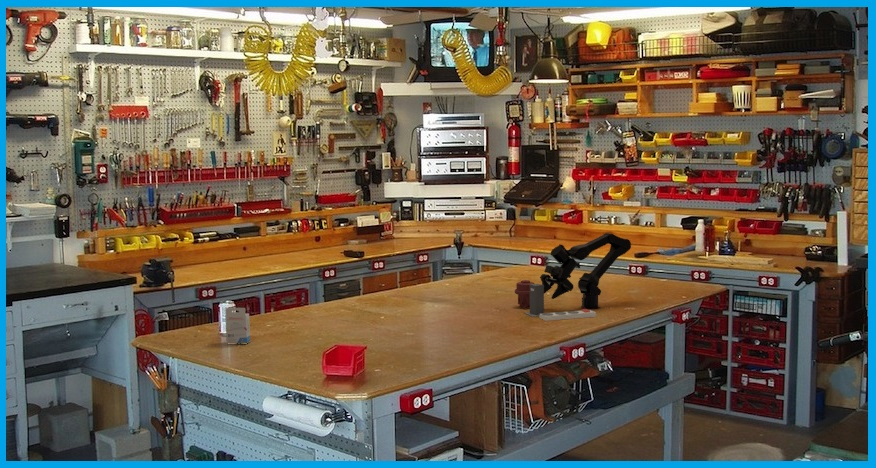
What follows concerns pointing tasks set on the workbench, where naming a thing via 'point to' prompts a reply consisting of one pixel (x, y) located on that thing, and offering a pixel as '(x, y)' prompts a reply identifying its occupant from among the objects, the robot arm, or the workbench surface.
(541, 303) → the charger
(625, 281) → the workbench surface
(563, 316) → the power strip
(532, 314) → the mat
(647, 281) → the workbench surface
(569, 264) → the robot arm
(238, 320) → the ink box
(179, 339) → the workbench surface
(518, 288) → the mechanical component
